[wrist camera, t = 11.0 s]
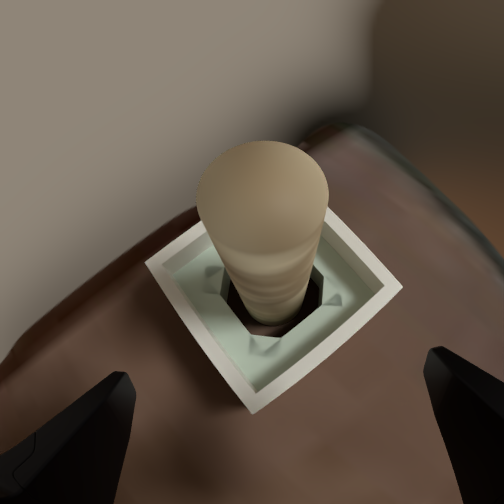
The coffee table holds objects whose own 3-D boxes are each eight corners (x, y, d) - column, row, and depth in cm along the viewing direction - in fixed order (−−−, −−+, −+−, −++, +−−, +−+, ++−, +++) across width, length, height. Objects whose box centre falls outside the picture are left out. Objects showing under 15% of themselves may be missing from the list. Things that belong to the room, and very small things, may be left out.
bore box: (258, 406, 19) (252, 414, 15) (169, 283, 22) (144, 262, 18) (380, 305, 20) (403, 286, 16) (283, 200, 24) (283, 164, 20)
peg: (259, 335, 21) (225, 275, 9) (234, 283, 22) (179, 170, 10) (313, 309, 21) (353, 216, 9) (287, 259, 22) (289, 126, 10)
